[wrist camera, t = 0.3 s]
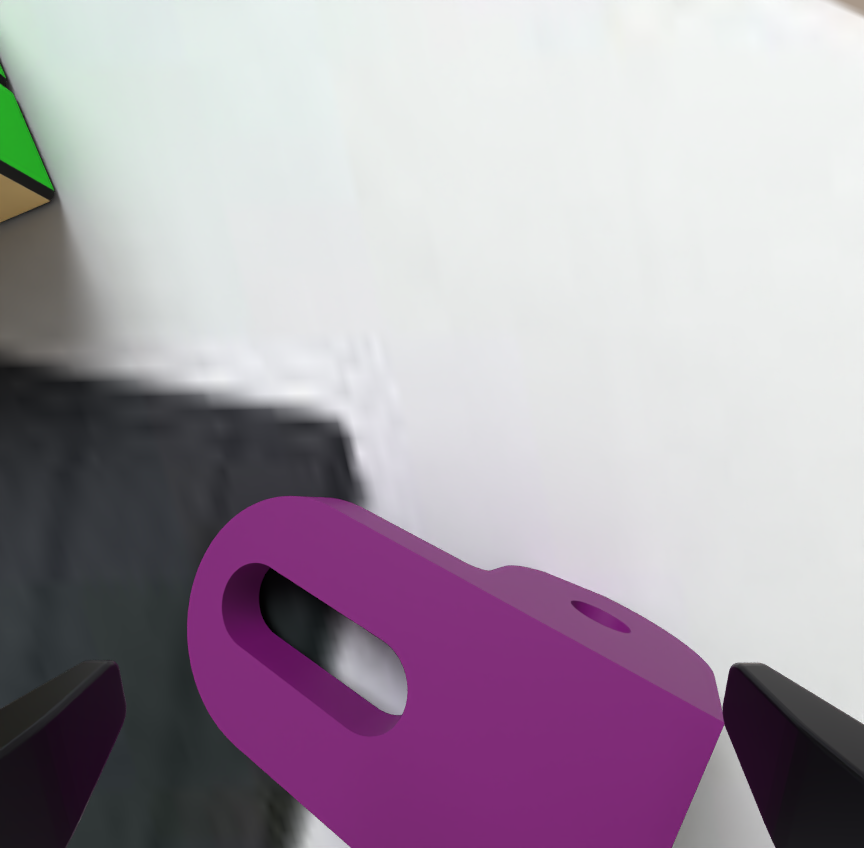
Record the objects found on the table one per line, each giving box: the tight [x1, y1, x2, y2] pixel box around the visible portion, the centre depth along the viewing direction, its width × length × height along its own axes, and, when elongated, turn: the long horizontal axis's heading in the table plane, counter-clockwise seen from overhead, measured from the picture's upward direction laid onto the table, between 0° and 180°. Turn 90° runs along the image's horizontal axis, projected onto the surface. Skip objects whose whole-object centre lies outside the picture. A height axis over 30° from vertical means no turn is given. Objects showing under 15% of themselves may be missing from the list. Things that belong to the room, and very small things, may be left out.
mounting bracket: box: [187, 496, 724, 848], centre depth 22 cm, size 9×8×18 cm
